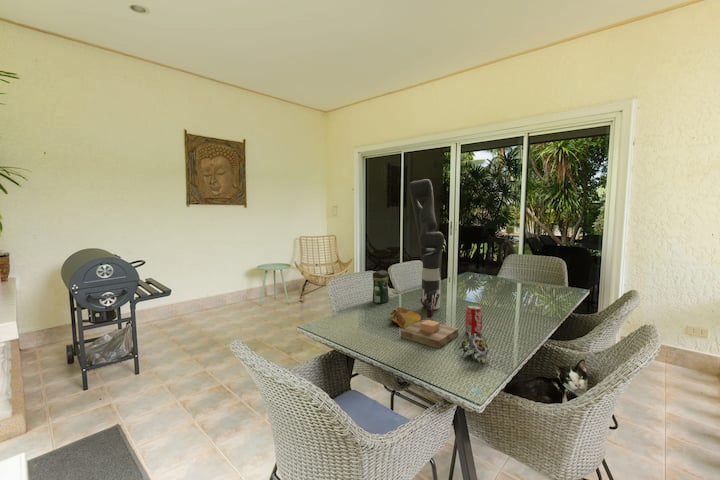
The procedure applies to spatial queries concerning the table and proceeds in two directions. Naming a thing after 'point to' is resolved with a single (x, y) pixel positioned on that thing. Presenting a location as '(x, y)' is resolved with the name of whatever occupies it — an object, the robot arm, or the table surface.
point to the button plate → (430, 335)
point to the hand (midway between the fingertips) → (429, 317)
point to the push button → (429, 326)
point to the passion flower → (476, 347)
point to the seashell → (404, 317)
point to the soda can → (473, 319)
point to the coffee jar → (380, 286)
